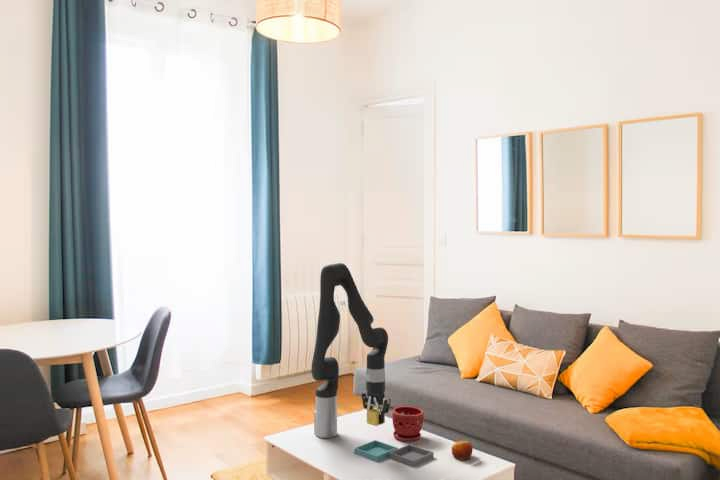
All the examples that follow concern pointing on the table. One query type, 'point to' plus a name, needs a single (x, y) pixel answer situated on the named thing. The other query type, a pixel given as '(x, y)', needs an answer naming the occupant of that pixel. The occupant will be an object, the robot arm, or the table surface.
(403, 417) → the plant pot
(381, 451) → the tray
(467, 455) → the fruit
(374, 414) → the marked block
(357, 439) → the table surface
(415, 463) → the tray
